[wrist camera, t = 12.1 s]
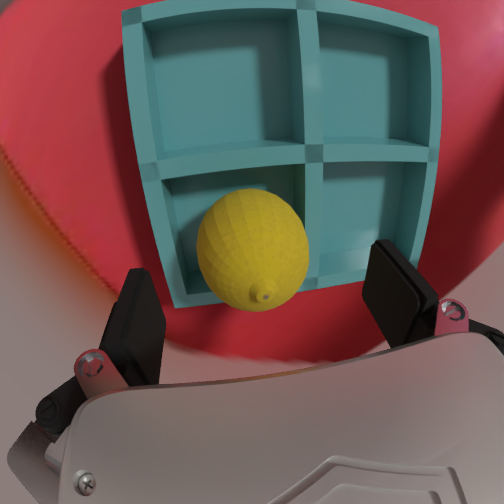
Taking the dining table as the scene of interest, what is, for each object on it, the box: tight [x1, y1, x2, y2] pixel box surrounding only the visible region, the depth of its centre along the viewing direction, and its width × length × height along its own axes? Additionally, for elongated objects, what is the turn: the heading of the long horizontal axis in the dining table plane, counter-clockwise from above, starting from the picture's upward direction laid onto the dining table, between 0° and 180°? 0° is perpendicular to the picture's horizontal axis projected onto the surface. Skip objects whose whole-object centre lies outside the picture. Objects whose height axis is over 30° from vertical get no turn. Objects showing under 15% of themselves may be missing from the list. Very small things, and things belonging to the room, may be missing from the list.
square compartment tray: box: [122, 0, 442, 308], centre depth 15 cm, size 18×18×4 cm
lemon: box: [196, 188, 309, 312], centre depth 14 cm, size 6×6×8 cm
